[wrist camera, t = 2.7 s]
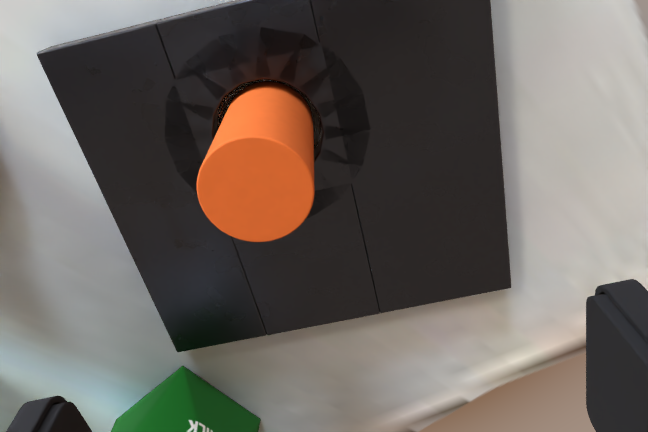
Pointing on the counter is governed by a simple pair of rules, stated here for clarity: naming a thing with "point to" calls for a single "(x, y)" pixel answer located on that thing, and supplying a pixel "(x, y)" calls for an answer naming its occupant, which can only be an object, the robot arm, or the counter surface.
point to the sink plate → (329, 158)
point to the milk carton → (186, 409)
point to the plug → (260, 165)
